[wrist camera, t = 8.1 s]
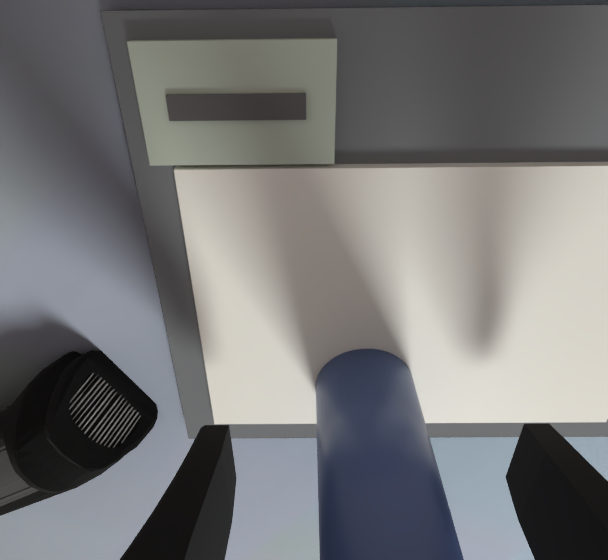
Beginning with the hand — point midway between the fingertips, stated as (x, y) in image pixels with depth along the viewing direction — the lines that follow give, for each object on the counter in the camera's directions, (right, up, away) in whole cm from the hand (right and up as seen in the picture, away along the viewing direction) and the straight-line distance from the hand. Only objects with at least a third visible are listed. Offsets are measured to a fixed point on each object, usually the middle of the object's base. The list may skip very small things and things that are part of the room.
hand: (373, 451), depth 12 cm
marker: (0, +1, +2) cm, 2 cm away
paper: (+1, +4, +1) cm, 4 cm away
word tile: (-3, +8, -2) cm, 9 cm away
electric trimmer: (-13, -2, +5) cm, 15 cm away
